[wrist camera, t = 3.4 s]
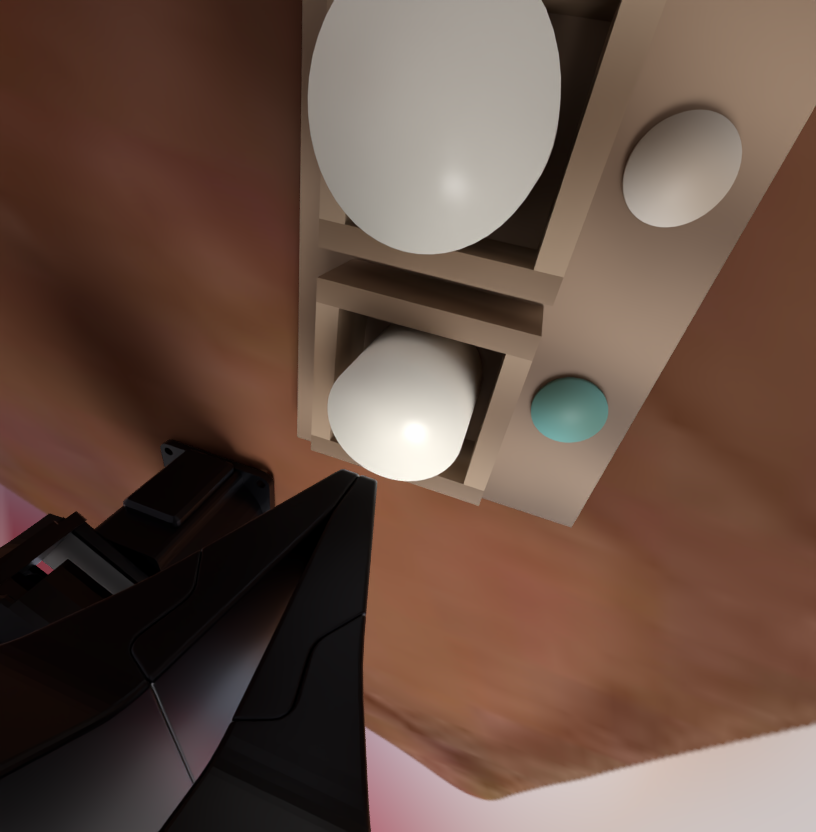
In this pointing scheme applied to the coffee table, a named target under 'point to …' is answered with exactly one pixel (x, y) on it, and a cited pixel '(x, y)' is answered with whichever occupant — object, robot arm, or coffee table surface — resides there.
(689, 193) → the board
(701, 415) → the coffee table surface
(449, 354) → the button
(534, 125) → the button mid
